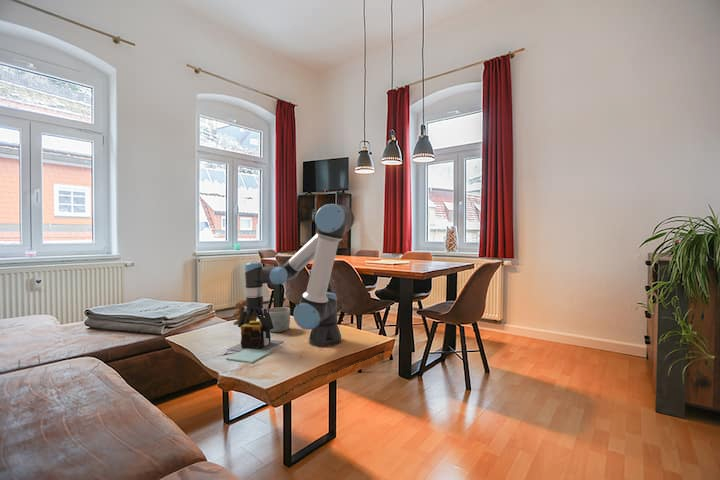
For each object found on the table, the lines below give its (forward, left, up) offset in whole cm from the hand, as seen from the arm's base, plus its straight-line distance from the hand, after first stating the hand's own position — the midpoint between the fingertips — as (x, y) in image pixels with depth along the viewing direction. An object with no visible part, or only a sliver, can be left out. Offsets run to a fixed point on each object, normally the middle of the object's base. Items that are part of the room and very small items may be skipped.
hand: (256, 343), depth 164 cm
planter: (+5, -25, -1) cm, 26 cm away
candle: (0, 0, -1) cm, 1 cm away
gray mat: (0, 0, -1) cm, 1 cm away
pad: (-6, +12, -1) cm, 13 cm away
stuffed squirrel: (+33, -32, -1) cm, 46 cm away
